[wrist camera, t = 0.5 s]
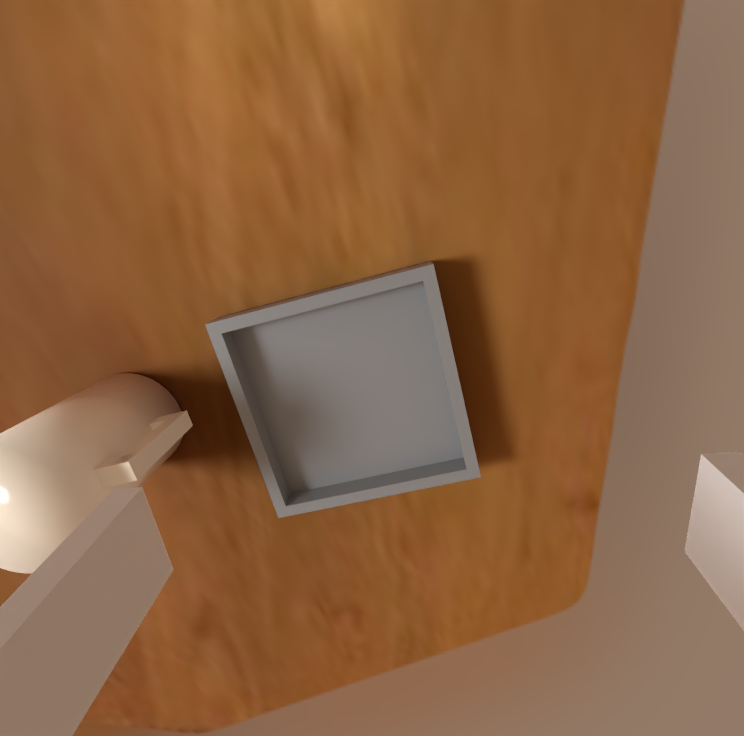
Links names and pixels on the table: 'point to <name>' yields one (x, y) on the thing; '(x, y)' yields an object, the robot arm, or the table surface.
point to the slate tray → (349, 391)
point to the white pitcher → (80, 461)
